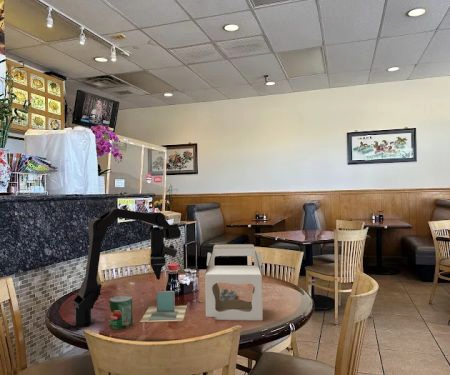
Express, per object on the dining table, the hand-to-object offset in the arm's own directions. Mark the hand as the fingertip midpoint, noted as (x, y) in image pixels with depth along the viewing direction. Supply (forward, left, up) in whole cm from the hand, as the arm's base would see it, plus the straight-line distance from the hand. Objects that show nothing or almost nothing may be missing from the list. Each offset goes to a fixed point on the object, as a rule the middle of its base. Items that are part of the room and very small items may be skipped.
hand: (158, 277), depth 152 cm
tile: (-10, -5, -12) cm, 16 cm away
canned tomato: (-24, +9, -13) cm, 29 cm away
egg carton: (+10, -31, -13) cm, 35 cm away
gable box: (-12, -33, -13) cm, 37 cm away
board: (-12, -5, -13) cm, 18 cm away
